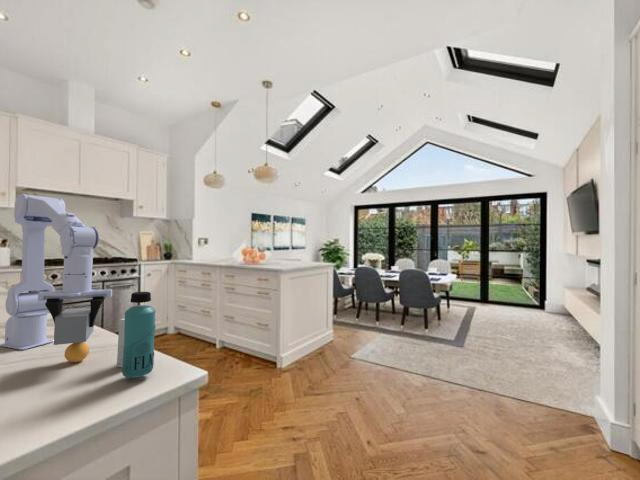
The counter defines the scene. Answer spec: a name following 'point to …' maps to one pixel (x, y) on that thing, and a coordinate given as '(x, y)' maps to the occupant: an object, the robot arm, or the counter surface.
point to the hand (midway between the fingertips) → (75, 327)
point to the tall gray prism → (72, 326)
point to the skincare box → (120, 343)
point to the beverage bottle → (139, 337)
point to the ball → (76, 352)
